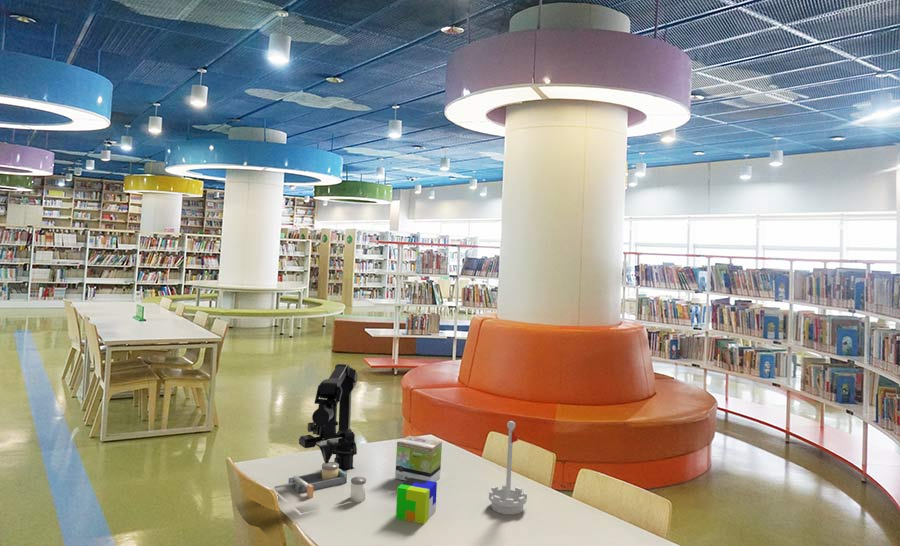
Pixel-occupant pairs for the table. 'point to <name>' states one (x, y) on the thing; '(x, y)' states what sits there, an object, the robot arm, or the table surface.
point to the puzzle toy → (416, 500)
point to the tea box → (418, 459)
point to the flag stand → (508, 486)
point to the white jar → (358, 489)
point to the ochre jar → (329, 471)
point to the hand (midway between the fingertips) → (326, 462)
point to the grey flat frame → (318, 481)
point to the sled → (301, 482)
